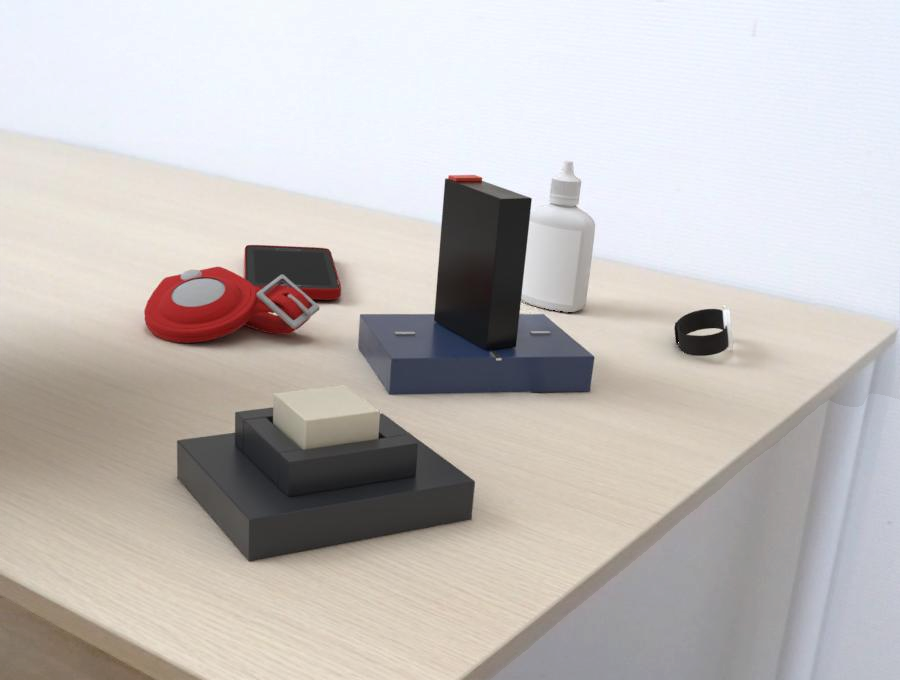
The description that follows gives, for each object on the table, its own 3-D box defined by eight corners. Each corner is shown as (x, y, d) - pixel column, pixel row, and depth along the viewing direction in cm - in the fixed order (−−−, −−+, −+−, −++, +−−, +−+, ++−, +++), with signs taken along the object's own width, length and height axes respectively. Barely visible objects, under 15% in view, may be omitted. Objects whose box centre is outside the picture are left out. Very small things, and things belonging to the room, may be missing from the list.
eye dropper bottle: (547, 316, 96) (564, 167, 92) (513, 297, 101) (527, 155, 96) (591, 313, 98) (610, 167, 93) (556, 295, 103) (572, 155, 98)
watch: (734, 367, 87) (743, 320, 86) (670, 359, 88) (678, 312, 86) (730, 338, 94) (738, 295, 93) (671, 331, 95) (678, 287, 93)
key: (304, 454, 56) (306, 420, 56) (272, 425, 60) (273, 392, 59) (378, 443, 58) (380, 410, 58) (343, 415, 62) (344, 384, 61)
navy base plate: (391, 398, 75) (393, 359, 74) (356, 344, 85) (358, 309, 84) (593, 394, 79) (598, 357, 78) (537, 343, 89) (541, 309, 88)
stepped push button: (248, 563, 53) (250, 482, 52) (176, 478, 61) (176, 406, 60) (471, 520, 59) (479, 447, 58) (380, 448, 67) (384, 382, 66)
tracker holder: (147, 333, 79) (130, 263, 87) (161, 386, 82) (144, 313, 90) (320, 293, 82) (290, 229, 89) (329, 346, 85) (299, 278, 92)
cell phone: (329, 258, 108) (330, 247, 107) (342, 301, 94) (342, 290, 94) (244, 254, 106) (244, 244, 106) (244, 298, 93) (244, 286, 93)
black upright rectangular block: (516, 347, 79) (532, 194, 75) (486, 350, 78) (501, 195, 74) (462, 318, 84) (475, 174, 80) (433, 320, 83) (444, 174, 79)
